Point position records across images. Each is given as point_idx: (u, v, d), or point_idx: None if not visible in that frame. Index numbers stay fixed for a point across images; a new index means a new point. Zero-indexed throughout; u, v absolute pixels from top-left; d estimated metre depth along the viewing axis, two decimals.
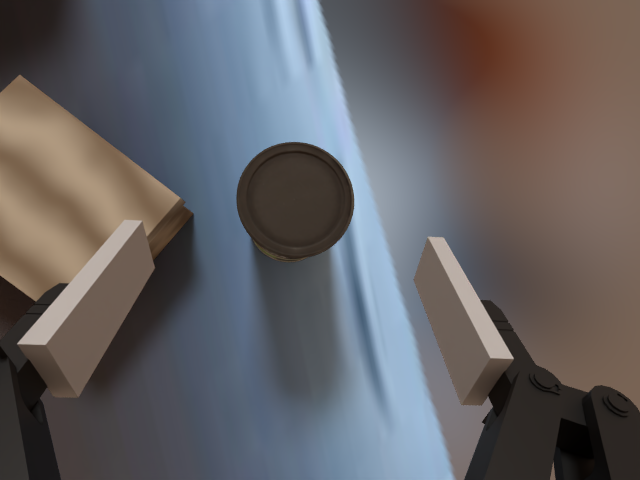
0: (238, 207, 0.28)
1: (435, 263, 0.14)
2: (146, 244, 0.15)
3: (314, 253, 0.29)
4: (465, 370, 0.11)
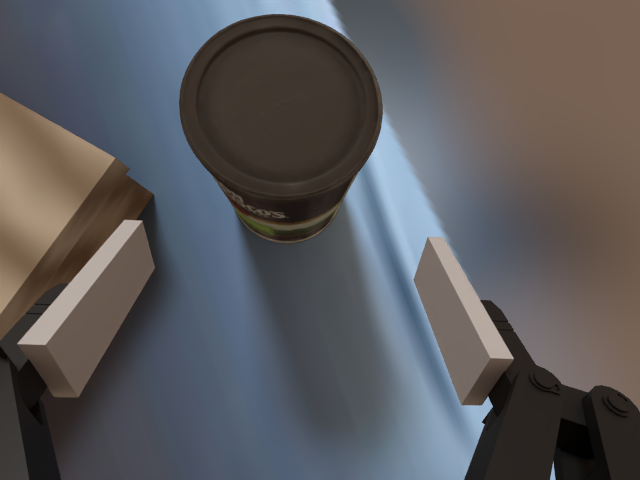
0: (184, 127, 0.16)
1: (435, 263, 0.14)
2: (146, 244, 0.15)
3: (327, 188, 0.16)
4: (465, 370, 0.11)
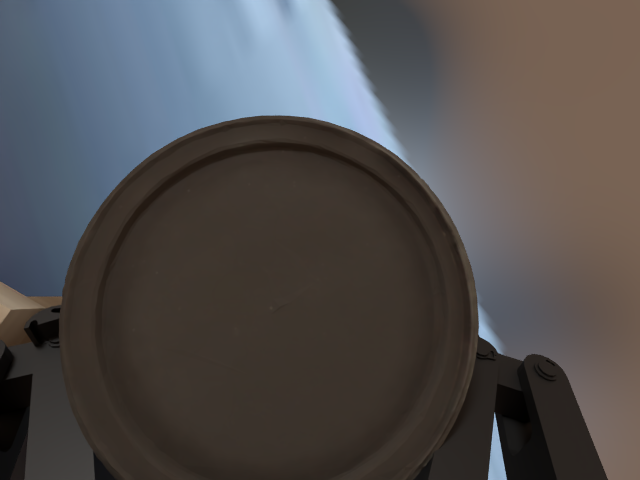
0: (66, 377, 0.07)
1: None
2: None
3: None
4: None
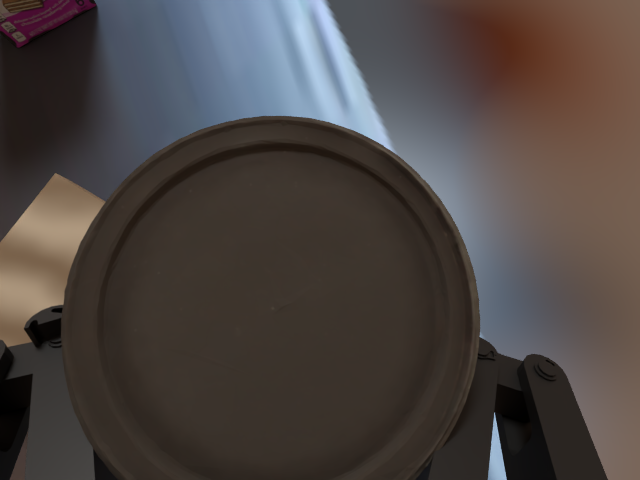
0: (68, 377, 0.07)
1: None
2: None
3: None
4: None
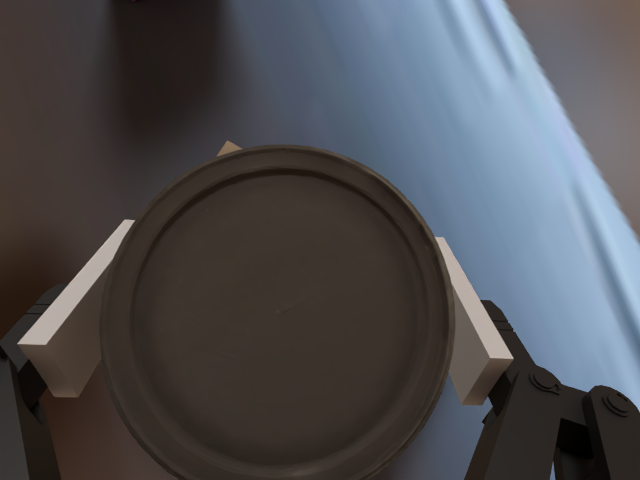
0: (106, 368, 0.09)
1: None
2: None
3: (362, 478, 0.09)
4: (465, 370, 0.11)
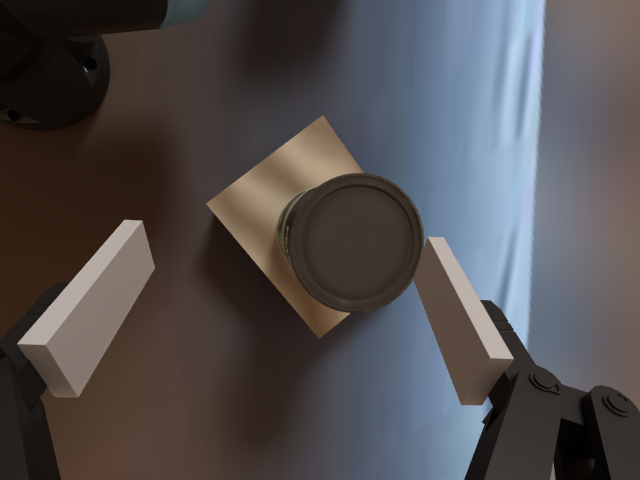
0: (291, 239, 0.23)
1: (435, 263, 0.14)
2: (146, 244, 0.15)
3: (362, 311, 0.25)
4: (465, 370, 0.11)
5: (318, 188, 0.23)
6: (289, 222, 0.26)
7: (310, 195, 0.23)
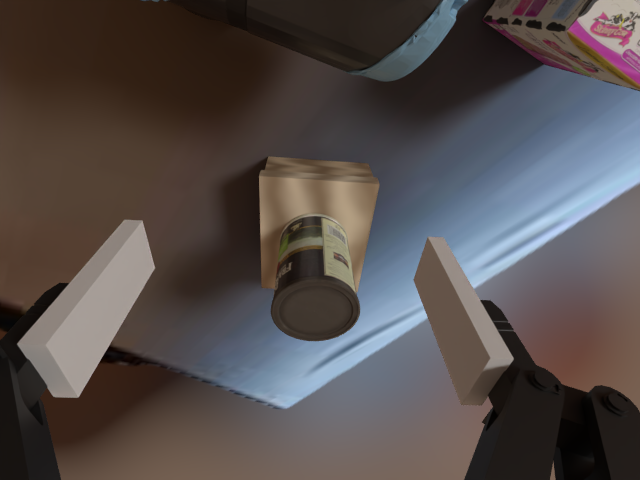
0: (284, 290, 0.36)
1: (435, 263, 0.14)
2: (146, 244, 0.15)
3: (289, 335, 0.40)
4: (465, 370, 0.11)
5: (319, 280, 0.35)
6: (293, 265, 0.38)
7: (312, 280, 0.35)
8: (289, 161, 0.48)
